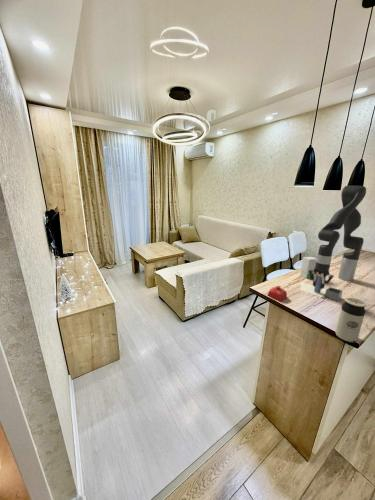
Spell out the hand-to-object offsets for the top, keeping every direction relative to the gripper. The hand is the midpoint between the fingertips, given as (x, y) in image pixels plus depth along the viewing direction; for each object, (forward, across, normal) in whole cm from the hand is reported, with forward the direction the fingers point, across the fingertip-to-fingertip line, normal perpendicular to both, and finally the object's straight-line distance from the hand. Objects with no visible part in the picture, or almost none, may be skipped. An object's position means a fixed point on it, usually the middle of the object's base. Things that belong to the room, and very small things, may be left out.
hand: (318, 287), depth 133 cm
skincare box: (+5, +15, -24) cm, 28 cm away
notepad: (+4, +4, -2) cm, 6 cm away
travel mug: (+5, -24, +36) cm, 43 cm away
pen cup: (+4, -8, -2) cm, 10 cm away
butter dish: (+5, +13, +27) cm, 30 cm away
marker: (+3, 0, 0) cm, 3 cm away
